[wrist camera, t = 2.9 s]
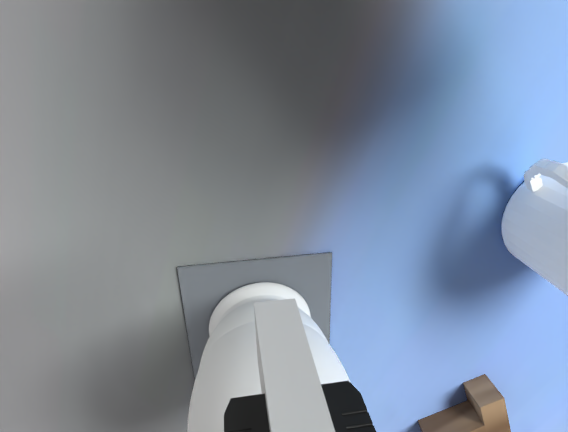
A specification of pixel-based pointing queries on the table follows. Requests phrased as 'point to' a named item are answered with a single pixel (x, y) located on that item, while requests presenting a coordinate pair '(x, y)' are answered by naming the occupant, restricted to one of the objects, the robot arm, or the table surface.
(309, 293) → the mat
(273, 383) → the robot arm
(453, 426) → the t block
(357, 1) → the table surface
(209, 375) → the jar
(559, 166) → the mug
